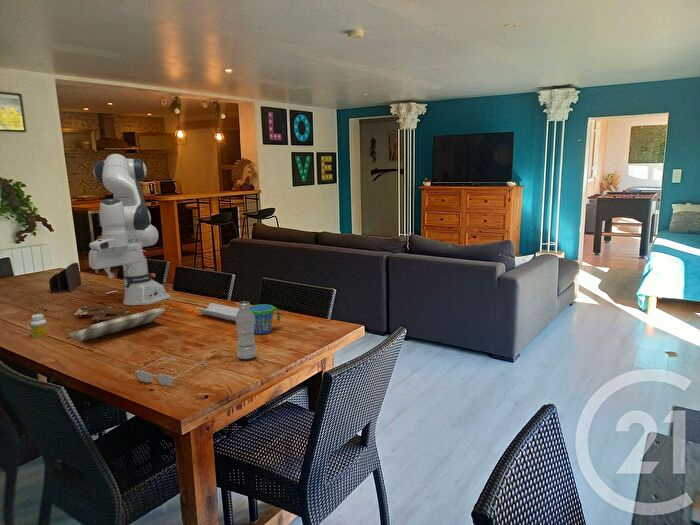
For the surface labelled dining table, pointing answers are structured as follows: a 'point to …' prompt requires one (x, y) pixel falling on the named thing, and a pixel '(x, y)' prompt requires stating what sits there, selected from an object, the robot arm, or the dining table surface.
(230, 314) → the z bracket
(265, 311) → the snack cup
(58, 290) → the letter holder
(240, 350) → the plastic bottle
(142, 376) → the eyeglasses
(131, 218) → the robot arm
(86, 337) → the loose plank
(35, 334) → the supplement bottle
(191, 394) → the dining table surface
